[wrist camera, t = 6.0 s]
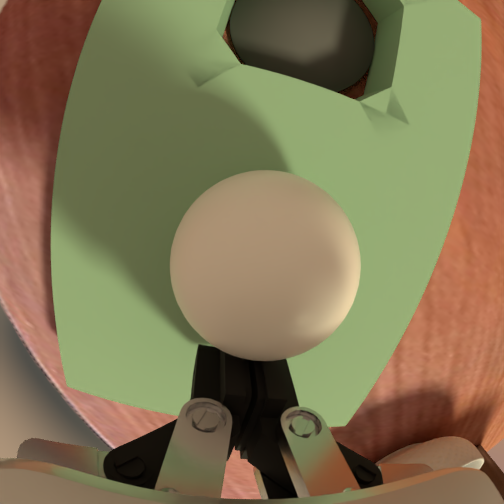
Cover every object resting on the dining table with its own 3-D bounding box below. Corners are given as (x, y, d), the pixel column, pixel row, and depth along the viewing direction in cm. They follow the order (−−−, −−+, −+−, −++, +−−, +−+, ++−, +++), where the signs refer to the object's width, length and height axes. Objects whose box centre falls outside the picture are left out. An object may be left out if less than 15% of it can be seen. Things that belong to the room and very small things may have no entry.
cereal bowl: (437, 462, 26) (455, 496, 20) (325, 505, 26) (336, 547, 19) (476, 389, 20) (510, 434, 14) (323, 455, 20) (343, 522, 13)
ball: (185, 259, 11) (199, 130, 8) (311, 280, 12) (359, 166, 9) (154, 377, 7) (139, 224, 4) (328, 396, 8) (430, 277, 5)
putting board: (166, -66, 7) (158, -92, 5) (453, 28, 9) (480, 19, 7) (81, 358, 14) (67, 386, 12) (334, 398, 17) (345, 426, 15)
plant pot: (402, 485, 28) (435, 563, 12) (492, 423, 25) (538, 491, 10) (416, 497, 33) (441, 555, 18) (486, 449, 31) (519, 502, 16)
